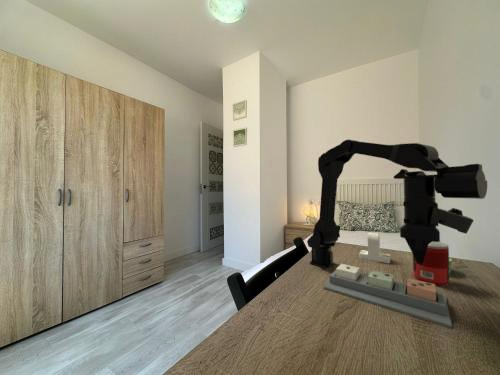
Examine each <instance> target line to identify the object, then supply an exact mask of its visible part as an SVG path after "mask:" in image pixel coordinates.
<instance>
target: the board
mask: <svg viewBox="0 0 500 375" xmlns="http://www.w3.org/2000/svg"><path fill="white" fill-rule="evenodd" d="M368 276H369V274H366V273H365V274H364V273H361V272H360V276H359V278H358V279H357V281H352V280H349V279H345V278H341V277H337V276H336V269H335V270H334V271H333V272H331V274H329V281H327V282H326V283H325V284H324V285H323V289H324V290H328V291H331V292H334V293H336V294H337V293H339V294H341V295H344V296H348V297H350V298H354V299H356V300H360V301H363V302H367V303H370V304H374V305H377V306H380V307H383V308H386V309H390V310H392V311H395V312H400V313H402V314H406V315H408V316H412V317H415V318H418V319H421V320H425V321H428V322H431V323H435V324H436V325H437V324H438V325H441V326H445V327H447V328H451V329H452V326H453V325H452V321H451V316H450V313H449V307H448V301H447V298H446V295H445V294H444V292H443V291H438V290H436V302H433V301H429V300H425V299H422V298H418V297H414V296H410V295H407V283H404V282H400V281H396V280H394V285H393V288H392V291H391V290H387V289H383V288H379V287H375V286H372V285H368Z"/></svg>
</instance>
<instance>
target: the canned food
mask: <svg viewBox="0 0 500 375" xmlns="http://www.w3.org/2000/svg"><path fill="white" fill-rule="evenodd" d="M449 249H450V248H449V245H448V244H446V243H444V242H441V241H440V242H431V243H429V244H428V248H427V251H426V255H425V259H424V263H423V264H419V263H417V262H416V260H415V258H414V256H413V255H412V272H413V277H414V278H415V280H419V281H423V282H428V283H432V284H435V286H438V287H439V286H442V287H444V286H445V287H446V286H447V285H449V283H450V273H449V258H450V256H449V255H450V251H449Z"/></svg>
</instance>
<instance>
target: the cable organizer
mask: <svg viewBox="0 0 500 375" xmlns="http://www.w3.org/2000/svg"><path fill="white" fill-rule="evenodd" d="M380 239H381V236H380V233H376V232H368V233H367V250H362V249H361V250H360V251H359V254H358V255H359V256H358V257H359V259H363V260H367V261H373V262H380V263H385V264H391V254H387V253H382V252H381V243H380V242H381V240H380Z"/></svg>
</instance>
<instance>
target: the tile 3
mask: <svg viewBox="0 0 500 375" xmlns="http://www.w3.org/2000/svg"><path fill="white" fill-rule="evenodd" d="M406 284H407V295H410V296H414V297H418V298H422V299H425V300H429V301H433V302H436V291H437V289H436V285H435V284H432V283H428V282H423V281H419V280H417V279H413V278H407V283H406Z"/></svg>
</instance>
